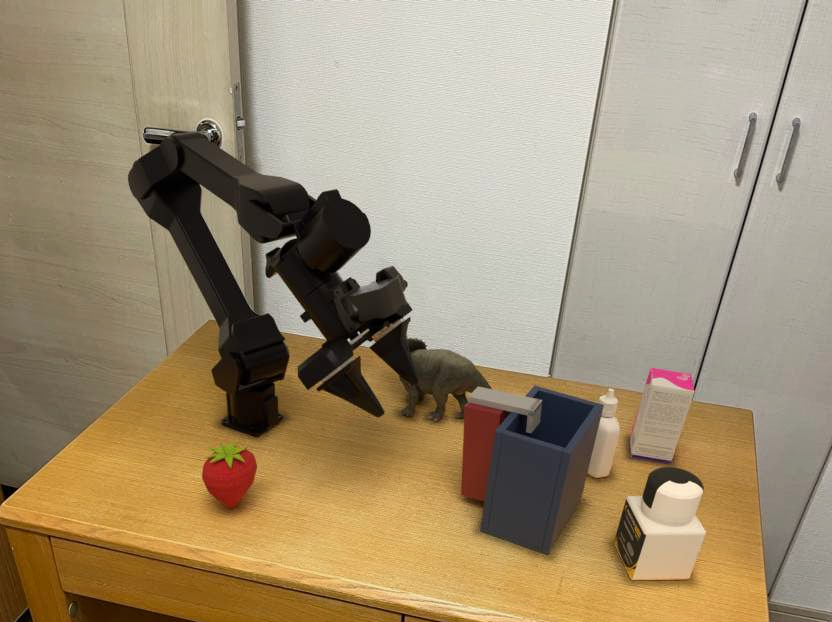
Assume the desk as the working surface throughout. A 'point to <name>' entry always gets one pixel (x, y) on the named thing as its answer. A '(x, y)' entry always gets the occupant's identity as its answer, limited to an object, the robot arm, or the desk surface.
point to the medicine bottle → (662, 527)
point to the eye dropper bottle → (605, 437)
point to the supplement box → (661, 415)
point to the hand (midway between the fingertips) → (399, 399)
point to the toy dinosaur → (440, 378)
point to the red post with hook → (489, 433)
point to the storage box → (540, 470)
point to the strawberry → (229, 473)
